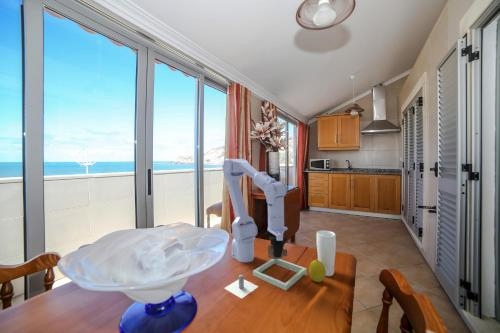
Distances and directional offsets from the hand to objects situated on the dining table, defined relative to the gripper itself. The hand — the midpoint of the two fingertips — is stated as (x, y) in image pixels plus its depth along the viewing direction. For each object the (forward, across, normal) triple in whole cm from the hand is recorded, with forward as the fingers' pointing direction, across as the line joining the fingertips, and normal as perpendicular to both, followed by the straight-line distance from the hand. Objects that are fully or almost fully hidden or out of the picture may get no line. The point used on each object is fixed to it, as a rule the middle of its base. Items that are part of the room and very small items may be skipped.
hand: (276, 253), depth 75 cm
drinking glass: (+9, +2, -19) cm, 21 cm away
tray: (+9, +1, -1) cm, 9 cm away
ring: (+1, 0, 0) cm, 1 cm away
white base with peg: (+9, -7, +13) cm, 17 cm away
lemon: (+9, -4, -13) cm, 17 cm away
